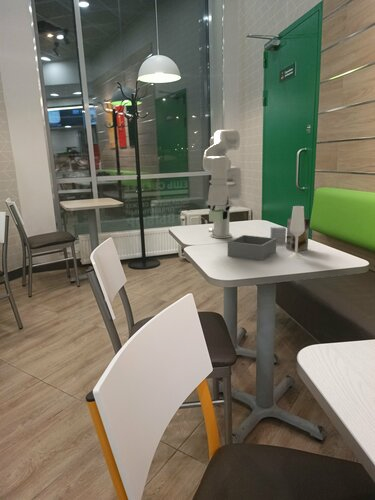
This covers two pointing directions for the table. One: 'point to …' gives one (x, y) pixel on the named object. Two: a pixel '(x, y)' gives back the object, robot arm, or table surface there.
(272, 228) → the medicine box
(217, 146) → the robot arm
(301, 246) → the coffee box
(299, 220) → the champagne flute
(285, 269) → the table surface
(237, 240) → the box
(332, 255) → the table surface
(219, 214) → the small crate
